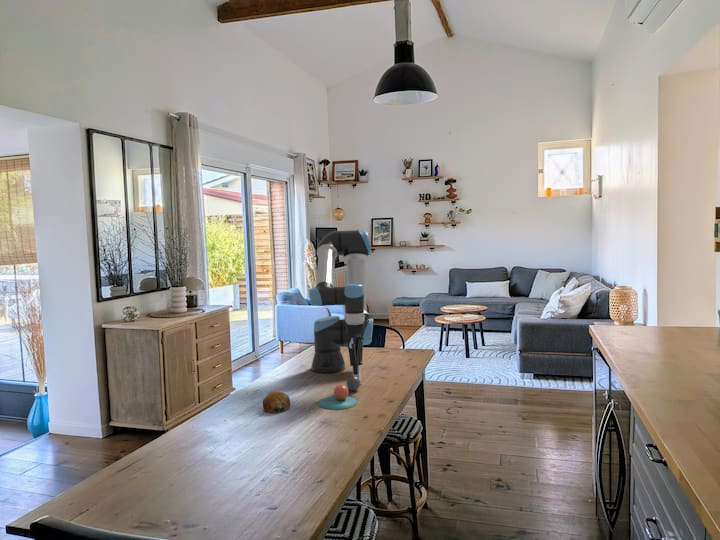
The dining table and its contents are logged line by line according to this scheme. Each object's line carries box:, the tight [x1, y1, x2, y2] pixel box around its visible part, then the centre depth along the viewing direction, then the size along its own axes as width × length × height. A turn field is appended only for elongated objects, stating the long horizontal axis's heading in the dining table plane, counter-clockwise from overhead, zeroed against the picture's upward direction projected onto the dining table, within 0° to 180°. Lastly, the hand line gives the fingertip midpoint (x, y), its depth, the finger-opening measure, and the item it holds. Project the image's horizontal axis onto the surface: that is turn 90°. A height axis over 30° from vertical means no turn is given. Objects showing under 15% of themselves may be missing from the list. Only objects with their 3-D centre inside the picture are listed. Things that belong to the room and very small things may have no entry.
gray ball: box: [345, 375, 361, 391], centre depth 206 cm, size 6×6×6 cm
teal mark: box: [318, 396, 358, 411], centre depth 192 cm, size 14×14×1 cm
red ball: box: [333, 384, 349, 400], centre depth 195 cm, size 6×6×6 cm
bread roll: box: [262, 390, 291, 414], centre depth 188 cm, size 10×10×8 cm
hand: (356, 381), depth 212 cm, fingers closed
